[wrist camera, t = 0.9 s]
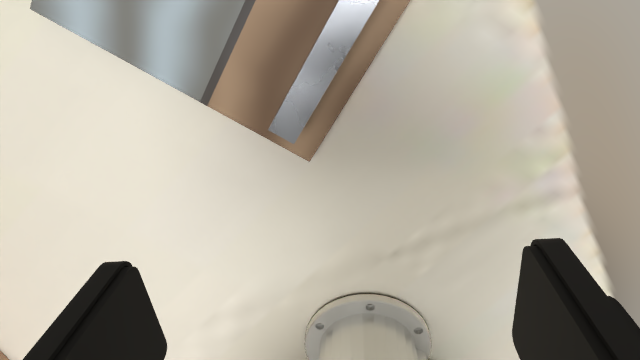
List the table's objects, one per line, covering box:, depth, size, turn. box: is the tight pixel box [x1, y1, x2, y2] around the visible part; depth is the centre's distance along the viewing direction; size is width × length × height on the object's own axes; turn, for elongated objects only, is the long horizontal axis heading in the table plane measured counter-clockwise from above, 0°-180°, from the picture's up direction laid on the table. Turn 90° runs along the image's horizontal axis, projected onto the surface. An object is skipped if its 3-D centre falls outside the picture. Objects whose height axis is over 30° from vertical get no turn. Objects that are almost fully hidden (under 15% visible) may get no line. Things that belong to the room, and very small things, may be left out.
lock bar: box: [268, 0, 379, 144], centre depth 27 cm, size 14×3×3 cm, turn 150°
